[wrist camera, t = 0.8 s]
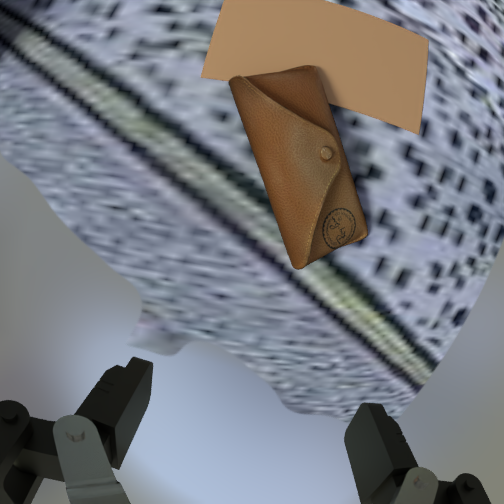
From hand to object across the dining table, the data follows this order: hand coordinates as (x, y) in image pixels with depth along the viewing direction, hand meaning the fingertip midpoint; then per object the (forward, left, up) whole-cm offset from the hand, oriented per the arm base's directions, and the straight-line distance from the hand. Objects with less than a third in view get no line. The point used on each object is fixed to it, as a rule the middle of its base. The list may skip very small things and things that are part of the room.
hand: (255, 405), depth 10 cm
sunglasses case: (-10, +2, -20) cm, 23 cm away
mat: (-22, +2, -20) cm, 30 cm away
